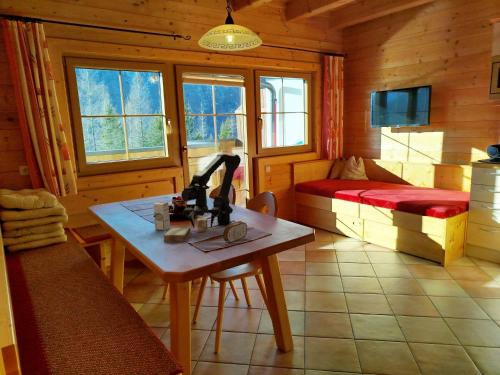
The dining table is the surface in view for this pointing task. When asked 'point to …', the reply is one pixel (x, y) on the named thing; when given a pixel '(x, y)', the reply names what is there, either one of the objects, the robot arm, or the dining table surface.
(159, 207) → the syrup box
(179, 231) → the plinth
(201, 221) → the block
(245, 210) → the dining table surface
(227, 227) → the tin
